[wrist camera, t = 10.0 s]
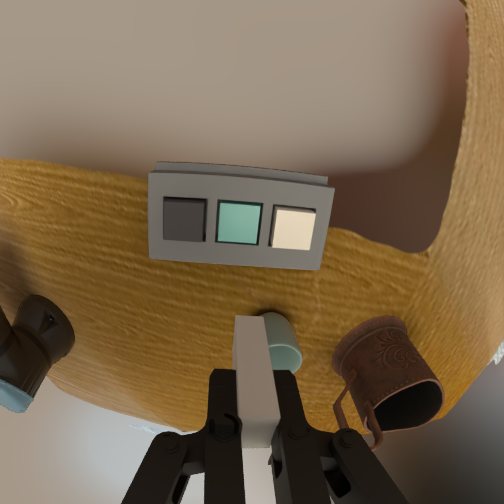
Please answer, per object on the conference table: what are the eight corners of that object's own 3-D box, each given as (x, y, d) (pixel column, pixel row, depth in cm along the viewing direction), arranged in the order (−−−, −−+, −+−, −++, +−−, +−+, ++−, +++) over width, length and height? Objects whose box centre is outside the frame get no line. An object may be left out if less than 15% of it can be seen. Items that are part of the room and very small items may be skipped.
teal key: (218, 233, 38) (217, 240, 35) (221, 198, 36) (220, 203, 34) (254, 236, 39) (256, 243, 36) (258, 201, 37) (260, 206, 34)
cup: (237, 324, 47) (239, 364, 37) (271, 297, 45) (280, 335, 36) (267, 346, 49) (273, 386, 40) (299, 322, 47) (312, 361, 38)
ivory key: (269, 239, 38) (272, 247, 35) (273, 204, 36) (277, 209, 33) (303, 242, 39) (309, 250, 36) (309, 208, 37) (315, 213, 34)
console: (157, 253, 41) (149, 265, 37) (158, 161, 35) (148, 164, 31) (309, 263, 43) (317, 276, 39) (325, 176, 38) (336, 180, 34)
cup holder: (380, 379, 57) (419, 457, 34) (294, 374, 53) (320, 479, 30) (420, 320, 51) (481, 397, 28) (332, 304, 47) (392, 417, 24)
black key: (168, 232, 37) (163, 239, 34) (169, 196, 35) (163, 201, 32) (204, 234, 37) (201, 242, 34) (206, 198, 35) (203, 203, 32)
